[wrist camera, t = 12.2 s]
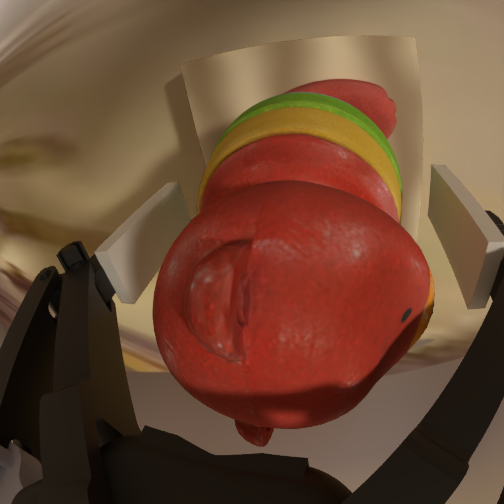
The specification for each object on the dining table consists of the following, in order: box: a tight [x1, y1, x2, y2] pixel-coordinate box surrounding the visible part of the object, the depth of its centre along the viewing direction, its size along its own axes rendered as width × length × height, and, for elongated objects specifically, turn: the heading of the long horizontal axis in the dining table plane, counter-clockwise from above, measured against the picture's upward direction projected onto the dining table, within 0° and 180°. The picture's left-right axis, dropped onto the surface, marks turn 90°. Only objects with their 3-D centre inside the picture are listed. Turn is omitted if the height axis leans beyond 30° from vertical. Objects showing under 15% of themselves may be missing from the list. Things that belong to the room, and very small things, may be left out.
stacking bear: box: [153, 79, 435, 447], centre depth 12 cm, size 11×10×18 cm
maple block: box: [180, 36, 423, 243], centre depth 21 cm, size 16×16×4 cm
